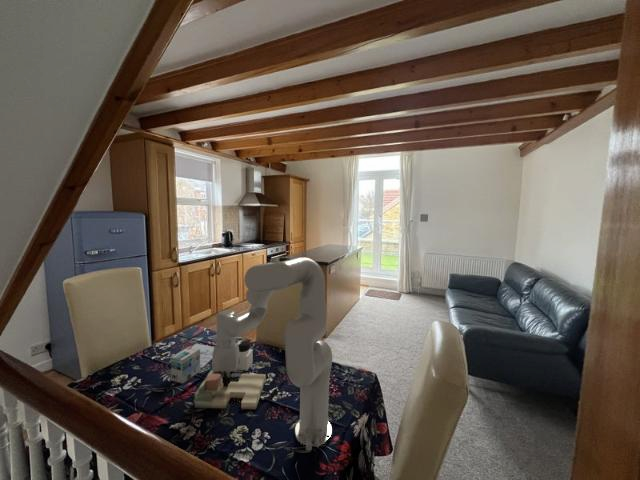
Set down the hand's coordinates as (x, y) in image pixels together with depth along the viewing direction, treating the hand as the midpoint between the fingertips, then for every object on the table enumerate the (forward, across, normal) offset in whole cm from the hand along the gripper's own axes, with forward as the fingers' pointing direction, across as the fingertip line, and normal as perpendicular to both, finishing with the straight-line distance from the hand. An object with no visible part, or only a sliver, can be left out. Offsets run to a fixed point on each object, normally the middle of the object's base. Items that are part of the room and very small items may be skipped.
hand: (226, 384), depth 108 cm
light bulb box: (+4, -22, +11) cm, 25 cm away
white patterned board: (+4, -24, +27) cm, 36 cm away
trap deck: (+3, +3, 0) cm, 4 cm away
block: (+1, -5, 0) cm, 5 cm away
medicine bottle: (+4, +1, +19) cm, 19 cm away
